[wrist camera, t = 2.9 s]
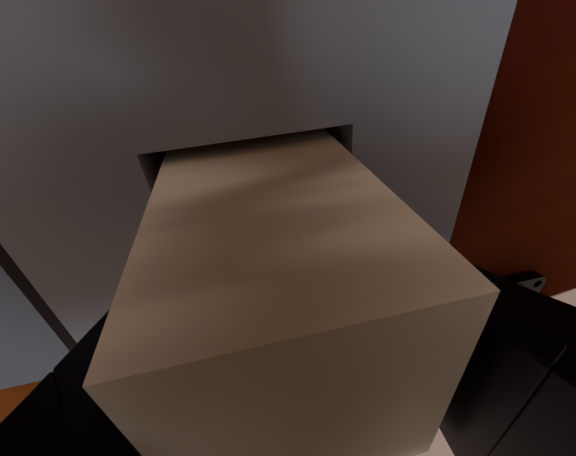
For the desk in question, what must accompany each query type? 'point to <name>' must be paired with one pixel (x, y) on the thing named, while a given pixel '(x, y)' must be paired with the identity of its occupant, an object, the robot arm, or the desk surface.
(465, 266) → the cream block
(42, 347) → the dark gray panel
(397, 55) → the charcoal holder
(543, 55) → the desk surface
